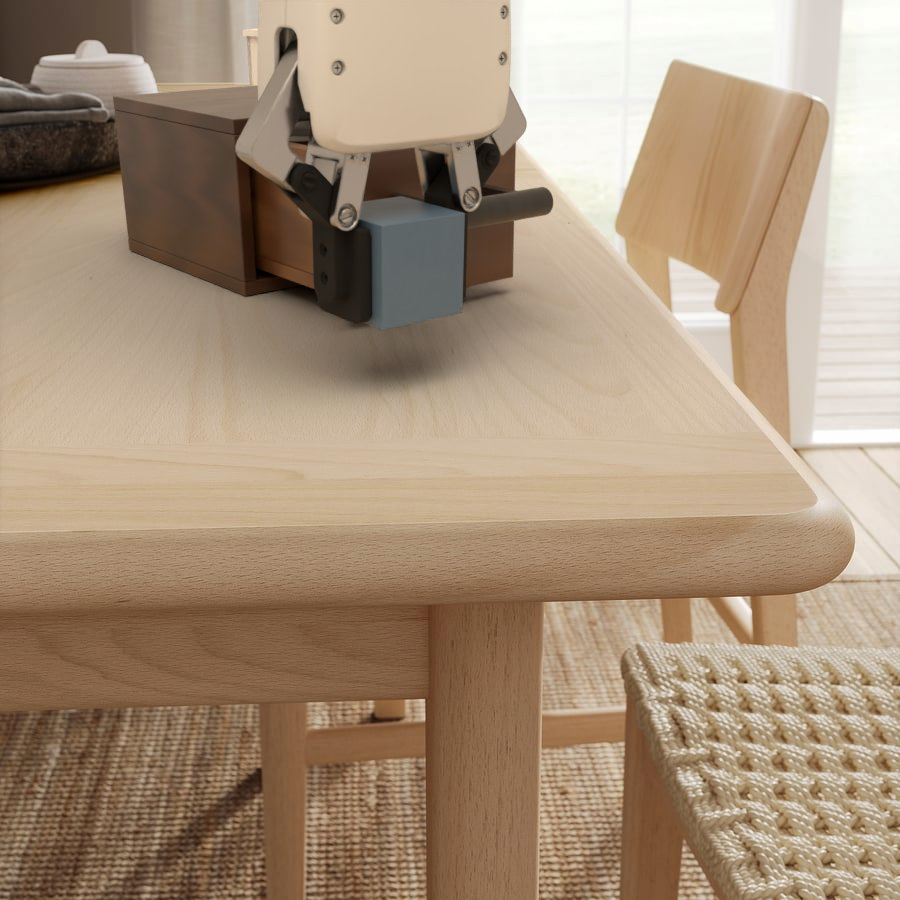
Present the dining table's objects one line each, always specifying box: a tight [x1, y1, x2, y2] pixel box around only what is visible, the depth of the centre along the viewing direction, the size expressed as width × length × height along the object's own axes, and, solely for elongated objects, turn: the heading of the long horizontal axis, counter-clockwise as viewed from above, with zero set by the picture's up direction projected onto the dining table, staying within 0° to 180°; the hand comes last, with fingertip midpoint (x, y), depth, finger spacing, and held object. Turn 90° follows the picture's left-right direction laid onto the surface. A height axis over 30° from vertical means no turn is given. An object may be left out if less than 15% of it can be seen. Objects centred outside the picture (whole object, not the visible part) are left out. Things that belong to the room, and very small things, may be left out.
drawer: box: [249, 141, 554, 290], centre depth 64 cm, size 19×11×8 cm, turn 40°
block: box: [358, 196, 465, 331], centre depth 51 cm, size 4×4×4 cm
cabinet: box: [112, 85, 303, 297], centre depth 72 cm, size 15×13×10 cm
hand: (392, 301), depth 51 cm, fingers closed on block, 4 cm apart
